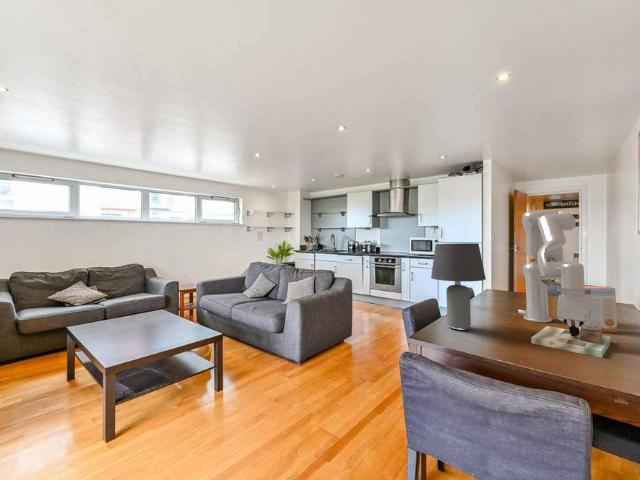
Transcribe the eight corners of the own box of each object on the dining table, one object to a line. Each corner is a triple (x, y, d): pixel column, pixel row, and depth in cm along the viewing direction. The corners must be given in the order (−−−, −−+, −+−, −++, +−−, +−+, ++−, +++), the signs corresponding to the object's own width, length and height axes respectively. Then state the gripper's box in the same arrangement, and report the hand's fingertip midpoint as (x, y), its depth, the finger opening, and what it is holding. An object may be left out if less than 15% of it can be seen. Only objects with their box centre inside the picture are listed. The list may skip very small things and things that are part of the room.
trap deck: (531, 343, 127) (531, 337, 127) (547, 331, 143) (546, 326, 143) (601, 357, 110) (601, 351, 110) (610, 342, 126) (610, 336, 126)
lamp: (486, 324, 156) (484, 242, 156) (488, 339, 134) (485, 243, 134) (435, 319, 168) (433, 243, 168) (429, 332, 146) (426, 244, 146)
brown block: (579, 340, 122) (579, 331, 122) (582, 337, 125) (582, 328, 125) (599, 344, 117) (599, 334, 117) (602, 341, 121) (601, 331, 121)
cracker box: (610, 329, 143) (608, 286, 143) (618, 333, 137) (616, 288, 137) (574, 327, 147) (573, 285, 147) (580, 331, 142) (579, 287, 142)
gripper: (548, 291, 129) (550, 334, 129) (595, 295, 118) (596, 342, 117) (553, 289, 134) (554, 330, 134) (598, 293, 122) (600, 338, 122)
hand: (574, 335), depth 126 cm, fingers closed
